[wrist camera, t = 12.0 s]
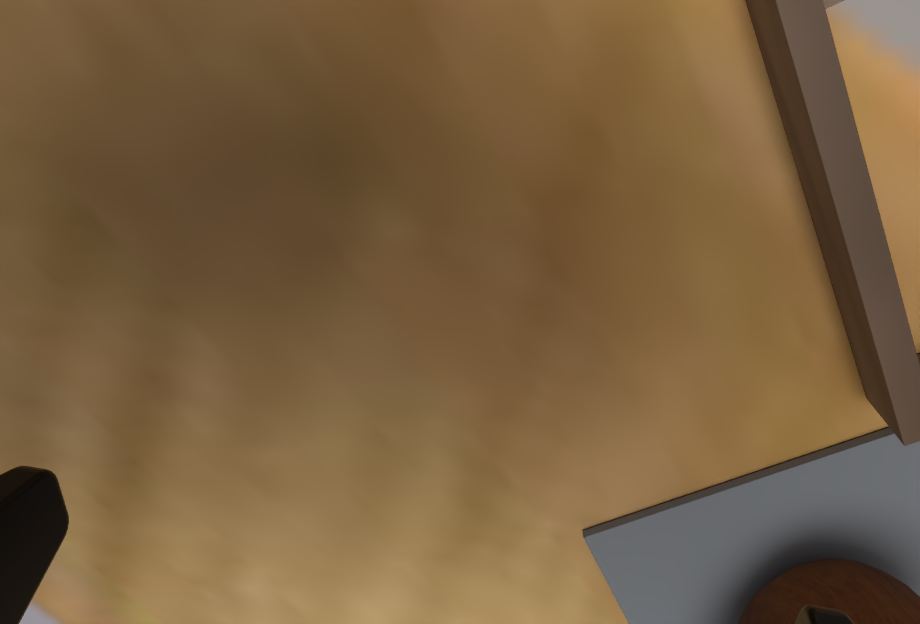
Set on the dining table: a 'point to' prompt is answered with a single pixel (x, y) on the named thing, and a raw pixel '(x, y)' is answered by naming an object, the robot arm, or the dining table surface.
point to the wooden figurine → (835, 594)
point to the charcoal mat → (765, 532)
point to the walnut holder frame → (841, 202)
